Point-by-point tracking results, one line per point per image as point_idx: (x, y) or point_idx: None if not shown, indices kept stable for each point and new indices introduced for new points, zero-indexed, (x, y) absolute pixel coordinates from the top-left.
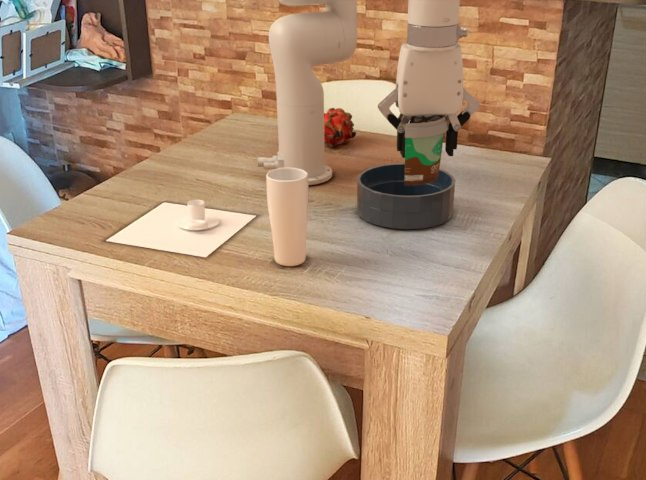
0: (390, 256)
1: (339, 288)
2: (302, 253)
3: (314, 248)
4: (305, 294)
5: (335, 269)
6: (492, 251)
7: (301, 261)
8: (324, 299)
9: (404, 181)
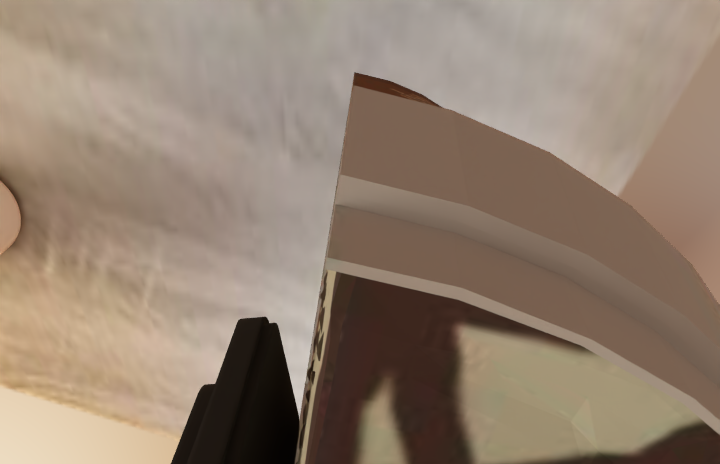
0: (295, 162)
1: (169, 353)
2: (1, 250)
3: (16, 103)
4: (91, 380)
5: (132, 254)
6: (665, 112)
7: (14, 240)
8: (145, 400)
9: (303, 398)
